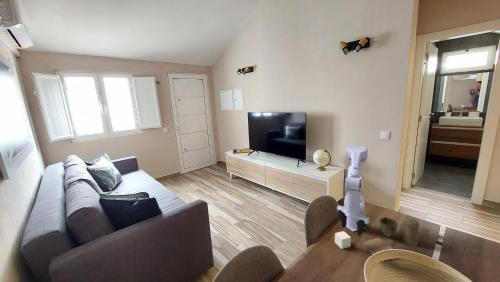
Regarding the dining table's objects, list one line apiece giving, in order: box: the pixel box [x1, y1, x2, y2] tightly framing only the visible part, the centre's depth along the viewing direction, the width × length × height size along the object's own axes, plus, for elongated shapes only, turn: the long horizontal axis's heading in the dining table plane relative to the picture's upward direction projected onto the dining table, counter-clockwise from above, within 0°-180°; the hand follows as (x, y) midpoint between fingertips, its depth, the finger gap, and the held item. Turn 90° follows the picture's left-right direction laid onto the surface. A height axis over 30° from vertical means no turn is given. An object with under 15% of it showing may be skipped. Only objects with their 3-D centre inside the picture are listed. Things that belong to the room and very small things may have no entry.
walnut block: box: [362, 237, 394, 255], centre depth 96 cm, size 9×9×3 cm
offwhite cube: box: [334, 230, 352, 250], centre depth 102 cm, size 5×5×5 cm
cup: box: [379, 216, 399, 238], centre depth 106 cm, size 8×7×8 cm
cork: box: [402, 218, 420, 247], centre depth 100 cm, size 6×6×11 cm
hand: (351, 230), depth 97 cm, fingers open, 7 cm apart
